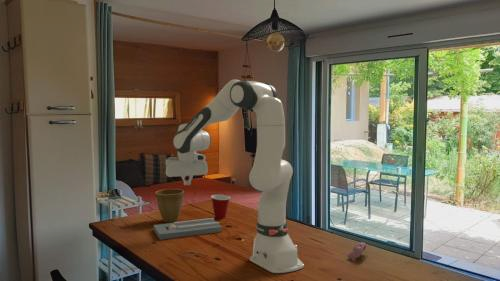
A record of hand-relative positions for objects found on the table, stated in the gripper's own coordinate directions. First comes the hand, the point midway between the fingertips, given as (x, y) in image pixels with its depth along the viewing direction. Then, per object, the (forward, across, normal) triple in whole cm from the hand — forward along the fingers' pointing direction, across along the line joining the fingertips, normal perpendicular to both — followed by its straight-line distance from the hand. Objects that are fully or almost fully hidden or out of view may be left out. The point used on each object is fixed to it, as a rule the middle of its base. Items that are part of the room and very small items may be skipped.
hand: (187, 184), depth 182 cm
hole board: (+23, 0, 0) cm, 23 cm away
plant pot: (+23, -4, +21) cm, 32 cm away
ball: (+21, -8, 0) cm, 22 cm away
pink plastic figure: (+23, +54, -60) cm, 84 cm away
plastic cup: (+23, +23, +16) cm, 36 cm away
